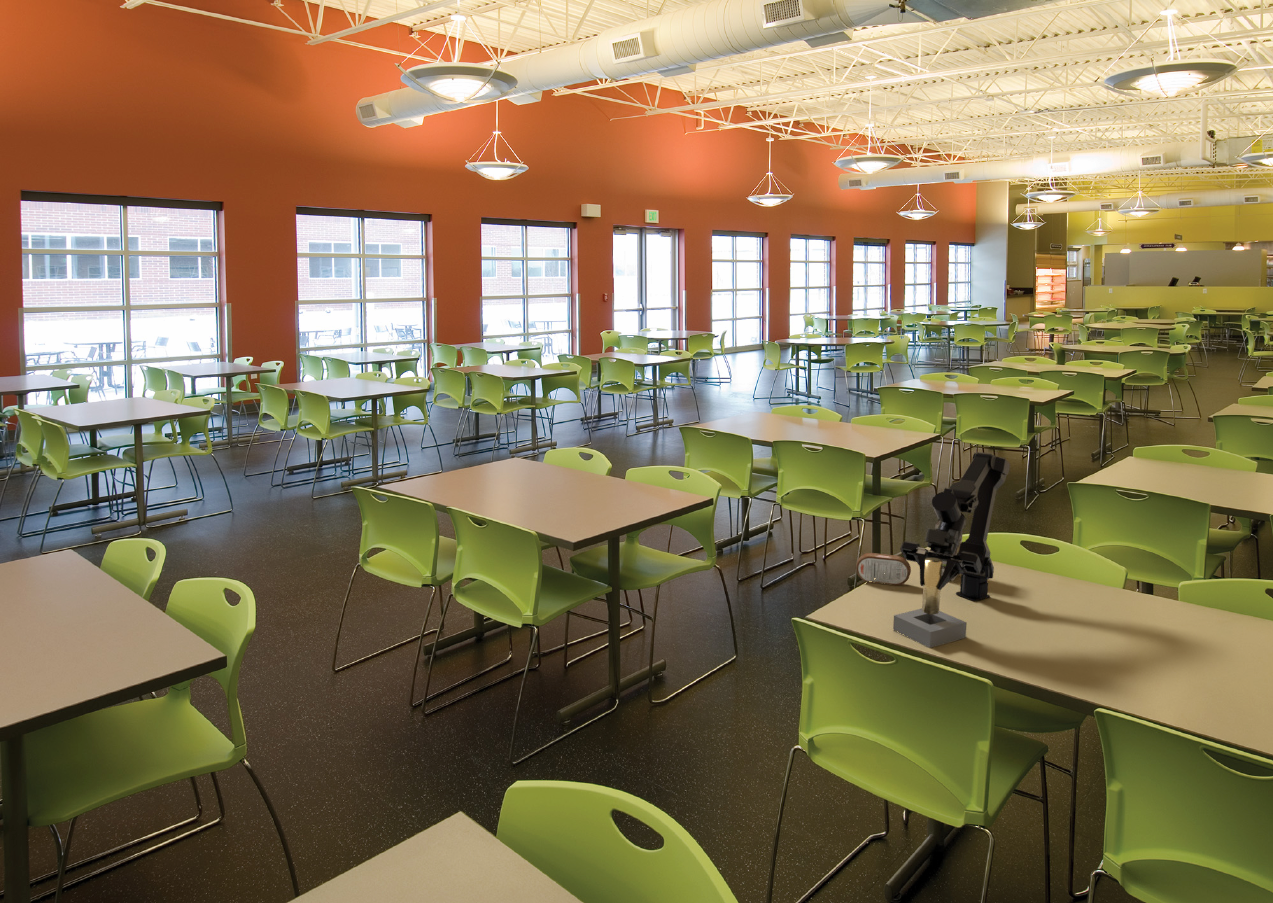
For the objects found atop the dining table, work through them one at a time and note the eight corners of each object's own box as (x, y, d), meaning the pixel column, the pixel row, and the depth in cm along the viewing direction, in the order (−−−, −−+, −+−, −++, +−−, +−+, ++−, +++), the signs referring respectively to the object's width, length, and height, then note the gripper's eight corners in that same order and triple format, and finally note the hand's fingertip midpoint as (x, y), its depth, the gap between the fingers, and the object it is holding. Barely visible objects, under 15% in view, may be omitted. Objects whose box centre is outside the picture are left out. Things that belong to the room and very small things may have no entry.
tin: (910, 584, 259) (911, 555, 257) (909, 587, 256) (911, 559, 254) (855, 578, 264) (857, 550, 262) (854, 582, 261) (856, 554, 259)
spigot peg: (920, 607, 225) (923, 557, 222) (936, 608, 225) (939, 557, 222) (924, 614, 221) (927, 563, 218) (941, 614, 221) (944, 563, 218)
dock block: (893, 630, 226) (893, 615, 226) (928, 621, 232) (929, 606, 231) (929, 647, 216) (930, 632, 215) (965, 637, 222) (966, 622, 221)
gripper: (904, 509, 227) (884, 563, 221) (981, 521, 216) (962, 579, 209) (915, 532, 234) (896, 585, 228) (989, 545, 223) (971, 601, 217)
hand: (930, 587), depth 220 cm, fingers closed on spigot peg, 4 cm apart
